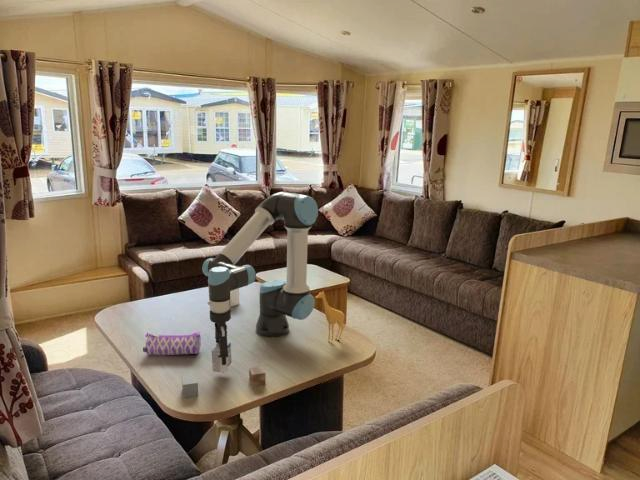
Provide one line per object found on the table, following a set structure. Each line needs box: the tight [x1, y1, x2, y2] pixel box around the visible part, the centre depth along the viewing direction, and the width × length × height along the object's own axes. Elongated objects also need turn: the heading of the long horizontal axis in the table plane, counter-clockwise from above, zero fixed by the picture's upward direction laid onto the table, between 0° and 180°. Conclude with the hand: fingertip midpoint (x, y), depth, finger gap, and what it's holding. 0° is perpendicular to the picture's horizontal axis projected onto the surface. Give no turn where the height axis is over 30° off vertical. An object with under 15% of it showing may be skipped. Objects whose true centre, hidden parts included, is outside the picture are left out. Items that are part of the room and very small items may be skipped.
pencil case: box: [142, 331, 202, 356], centre depth 194 cm, size 22×9×10 cm, turn 96°
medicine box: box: [211, 341, 232, 374], centre depth 177 cm, size 8×4×9 cm, turn 168°
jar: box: [230, 288, 240, 307], centre depth 247 cm, size 9×8×12 cm
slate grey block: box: [181, 375, 199, 398], centre depth 167 cm, size 5×5×5 cm
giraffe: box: [314, 290, 346, 341], centre depth 205 cm, size 16×4×25 cm, turn 126°
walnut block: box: [248, 365, 266, 388], centre depth 175 cm, size 5×5×5 cm
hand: (222, 365), depth 178 cm, fingers closed on medicine box, 9 cm apart
